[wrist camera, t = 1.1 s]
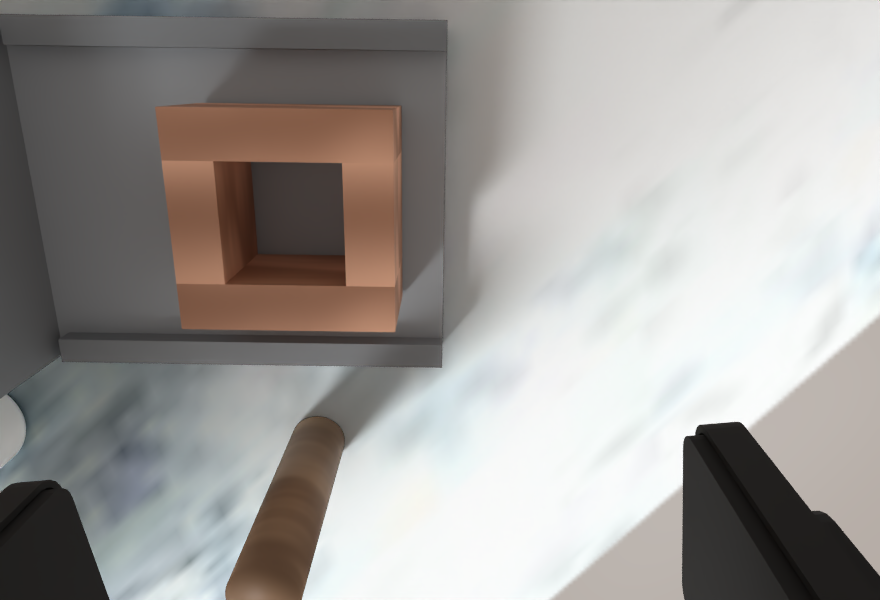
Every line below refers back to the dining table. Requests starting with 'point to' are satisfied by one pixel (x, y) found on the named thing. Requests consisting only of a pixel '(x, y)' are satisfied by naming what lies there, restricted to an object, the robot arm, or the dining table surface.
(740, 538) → the robot arm
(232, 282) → the block
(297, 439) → the dowel
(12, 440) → the drinking glass
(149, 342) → the grey open tray
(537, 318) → the dining table surface
